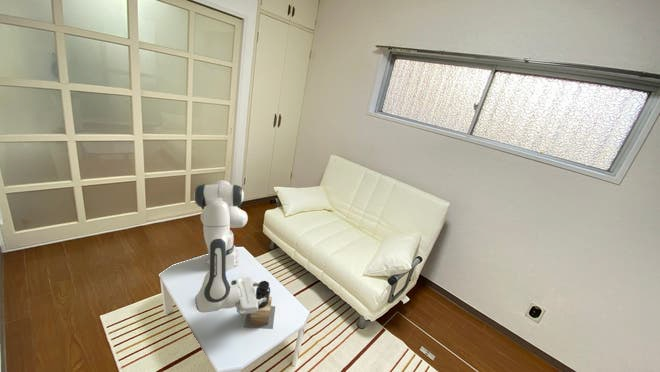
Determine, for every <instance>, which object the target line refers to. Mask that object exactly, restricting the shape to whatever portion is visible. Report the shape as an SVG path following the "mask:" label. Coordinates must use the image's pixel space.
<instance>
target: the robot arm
mask: <svg viewBox="0 0 660 372" xmlns="http://www.w3.org/2000/svg"><path fill="white" fill-rule="evenodd" d="M193 199H194V203H195V204H196V205H197V206H198V207H200V208H201V209H202V211H201V213H200V221H201V223H202V224H203V238H204V241H205V245H206V248H207V252H208V256H209V258H208V259H207V261H206V264H207V265H209V271H208V272H207V273H206V274H205V276H204V279H203V281H202V284H201V287H200V289H199V291H198V293H196V295H195V298H194V301H195V306H196V310H197V311H198V312H199V313H202V314H203V313H211V312H212V313H213V312H217V311H220V310H222V309H226V310H227V309H232V308H236V312H237V313H238V314H240V315H242V314H243V315H244V314H245V315H247V314H248V313H255V312H257V311H258V305H259V304H261V303H262V302H264V301H266V296H264V297H262V299H260V300H259V299H256V291H255V287H258V286H259V283H260V282H257V281H252V278H251V276H250V277H249V276H244V277H239V278H237V279H236V278H233V279H231V281H230V283H229V281H228V278H227V275H226V273H227V271H228V270H230V269H232V268H235V267H237V266H239V250H238V249H236V245H234V242H235V239H234V233H233V231H232V230H231V228H232V229H235V228H238V229H239V228H243V227H245V226H246V224H247V223H248V220H249V219H248V218H249V216H248V213H247V212H246V211H245V210H243V209H241V208H240V207H239V206H241V205H242V203H243V202H244V199H245V192H244V190H243V187H242V186H241V185H237V184H231V183H230V182H229V181H227V180H224V179H219V180H217V181H215V182H214V183H212V184H204V183H203V184H198V186H196V187H195V190H194V193H193Z"/></svg>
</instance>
